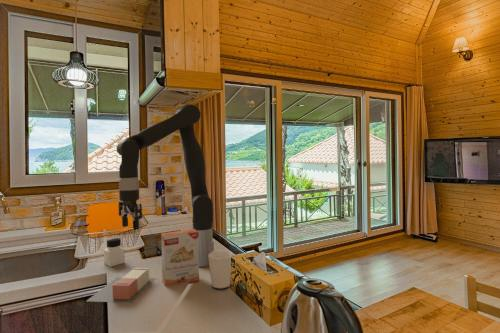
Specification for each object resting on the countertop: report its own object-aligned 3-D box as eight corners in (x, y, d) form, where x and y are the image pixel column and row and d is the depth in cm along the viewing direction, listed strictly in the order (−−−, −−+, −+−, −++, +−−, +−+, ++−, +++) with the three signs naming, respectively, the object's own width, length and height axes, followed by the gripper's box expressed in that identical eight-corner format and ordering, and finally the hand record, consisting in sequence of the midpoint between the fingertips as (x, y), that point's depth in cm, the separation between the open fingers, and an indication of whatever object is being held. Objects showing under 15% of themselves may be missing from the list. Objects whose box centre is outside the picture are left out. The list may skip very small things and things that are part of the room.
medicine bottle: (124, 262, 142) (124, 238, 142) (109, 267, 137) (108, 241, 136) (118, 259, 147) (117, 236, 147) (103, 263, 142) (103, 239, 141)
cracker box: (165, 289, 113) (163, 236, 112) (162, 283, 118) (160, 232, 117) (200, 281, 119) (198, 231, 119) (195, 276, 125) (194, 228, 124)
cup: (218, 278, 122) (218, 248, 122) (238, 283, 117) (238, 252, 117) (203, 288, 114) (202, 256, 113) (224, 294, 109) (223, 260, 108)
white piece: (156, 281, 121) (155, 266, 121) (132, 306, 101) (131, 288, 101) (116, 280, 122) (116, 265, 122) (86, 304, 102) (85, 286, 102)
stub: (137, 291, 109) (136, 278, 108) (129, 299, 103) (128, 285, 102) (121, 291, 109) (121, 277, 109) (112, 299, 103) (112, 285, 103)
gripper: (147, 188, 117) (148, 228, 118) (128, 186, 126) (130, 223, 127) (129, 190, 112) (130, 232, 112) (111, 188, 121) (113, 227, 121)
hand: (130, 227), depth 120 cm, fingers open, 8 cm apart
